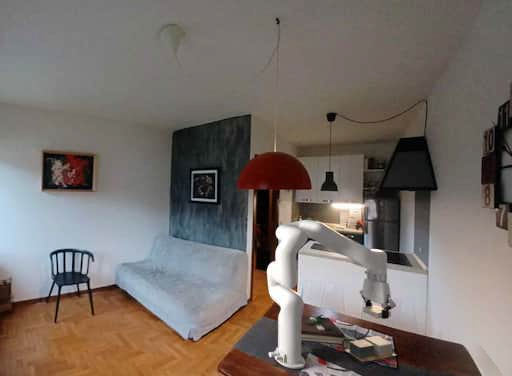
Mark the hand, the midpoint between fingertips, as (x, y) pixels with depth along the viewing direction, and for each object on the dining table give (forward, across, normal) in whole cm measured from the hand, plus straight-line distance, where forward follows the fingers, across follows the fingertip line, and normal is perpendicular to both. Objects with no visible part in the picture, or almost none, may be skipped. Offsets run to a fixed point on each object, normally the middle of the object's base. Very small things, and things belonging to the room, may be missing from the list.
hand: (376, 314), depth 122 cm
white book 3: (+17, 0, +1) cm, 17 cm away
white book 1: (0, 0, 0) cm, 0 cm away
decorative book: (+19, -20, -19) cm, 33 cm away
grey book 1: (+15, 0, -9) cm, 17 cm away
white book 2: (+15, 0, +1) cm, 15 cm away
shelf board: (+19, 0, -4) cm, 19 cm away
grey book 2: (+17, 0, -9) cm, 19 cm away
